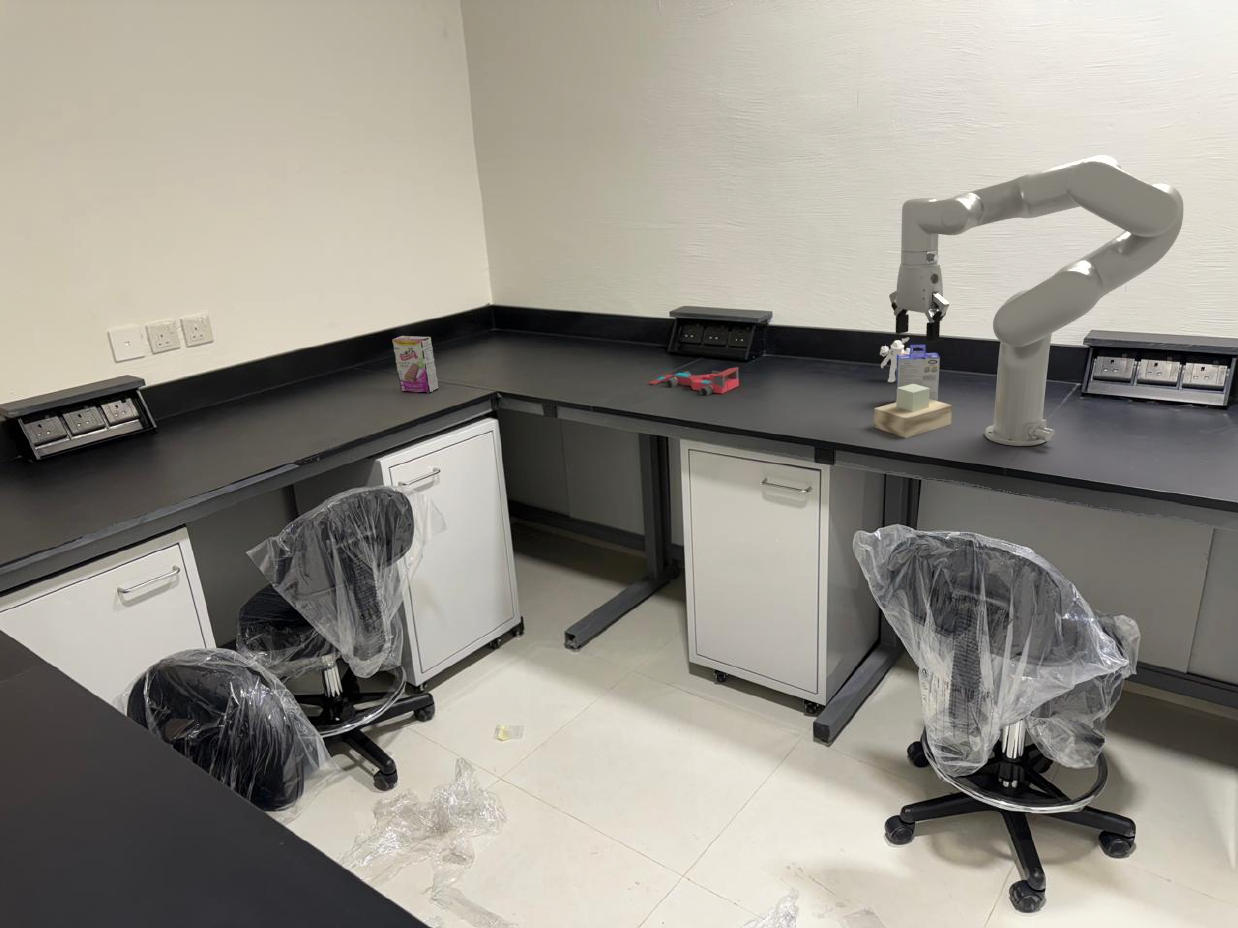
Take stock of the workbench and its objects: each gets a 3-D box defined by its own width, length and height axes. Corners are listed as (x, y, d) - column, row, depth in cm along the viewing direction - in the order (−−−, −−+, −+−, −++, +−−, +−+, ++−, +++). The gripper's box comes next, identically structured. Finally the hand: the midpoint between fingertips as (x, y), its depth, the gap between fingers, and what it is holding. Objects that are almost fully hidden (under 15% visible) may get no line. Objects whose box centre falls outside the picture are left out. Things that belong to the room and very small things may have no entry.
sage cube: (928, 407, 200) (929, 388, 198) (912, 411, 198) (913, 392, 196) (912, 402, 204) (913, 383, 202) (896, 406, 202) (897, 387, 200)
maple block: (950, 426, 201) (952, 405, 200) (905, 439, 196) (906, 418, 194) (917, 416, 210) (918, 396, 208) (873, 428, 204) (874, 408, 202)
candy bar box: (400, 392, 266) (390, 339, 260) (410, 387, 270) (401, 335, 264) (430, 394, 261) (421, 340, 256) (440, 389, 266) (431, 336, 260)
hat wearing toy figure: (914, 381, 235) (916, 337, 230) (909, 384, 232) (911, 340, 228) (881, 377, 240) (883, 334, 236) (876, 381, 237) (877, 338, 233)
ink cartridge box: (935, 399, 219) (938, 343, 213) (938, 406, 214) (941, 348, 208) (894, 400, 221) (896, 344, 216) (896, 407, 216) (898, 349, 211)
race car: (671, 356, 259) (744, 364, 243) (673, 375, 261) (745, 385, 246) (642, 368, 249) (716, 377, 233) (644, 388, 251) (717, 399, 236)
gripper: (962, 259, 183) (958, 339, 189) (905, 253, 198) (903, 327, 204) (934, 264, 180) (931, 345, 186) (878, 257, 195) (877, 333, 201)
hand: (916, 336), depth 195 cm, fingers open, 9 cm apart
